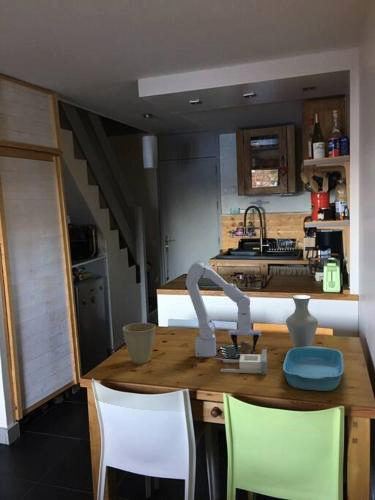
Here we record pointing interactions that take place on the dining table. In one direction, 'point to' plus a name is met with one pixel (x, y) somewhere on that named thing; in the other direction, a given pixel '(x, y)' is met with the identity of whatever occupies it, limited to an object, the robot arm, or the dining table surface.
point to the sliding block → (250, 361)
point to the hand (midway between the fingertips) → (245, 350)
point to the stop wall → (264, 362)
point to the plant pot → (139, 341)
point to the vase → (301, 323)
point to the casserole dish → (313, 368)
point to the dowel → (245, 347)
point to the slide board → (238, 369)
